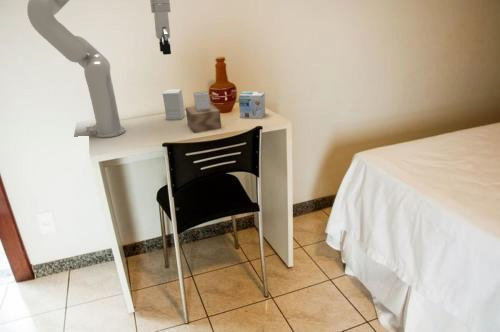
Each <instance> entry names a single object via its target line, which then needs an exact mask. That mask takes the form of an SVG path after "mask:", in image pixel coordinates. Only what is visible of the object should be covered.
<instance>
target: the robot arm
mask: <svg viewBox="0 0 500 332" xmlns="http://www.w3.org/2000/svg"><path fill="white" fill-rule="evenodd" d="M69 1H70V0H28V3H27V7H26V8H27V9H26V10H27V16H28V19H29V22H30V24H31V27H33V28H34V30H35V31H36V32H37V33H38V34H39V35H40V36H41V37H42V38H43V39H45V41H47V42H48V43H49V44H50V45H51V46H52V47H53V48H54V49H56V50H57V51H58V52H59V53H60V54H61V55H62V56H64V57H65V59H67V60H68V61H69V62H71V63H78V64H79V66H81V67H82V68H83V69H84V72H83V73H84V77H85V78H84V79H85V81H86V84H87V89H88V93H89V96H90V101H91V105H92V111H93V114H94V119H95V124H94V125H92V126H91V125H89V126H85V130H86V132H89V133H92V132H94V136H95V137H96V138H102V139H104V138H113V137H117V136H120V135H123V134H124V133H125V132H126V128H125V126H122V125H121V121H120V120H121V119H120V115H119V111H118V105H117V101H116V95H115V90H114V86H113V82H112V76H111V63H110V62H109V60H108V59H107V58H106V57H105V56H104V55H103V54H102V53H101V52H100V51H98V49H97V48H95V47H94V46H93V45H92V44H91V43H90V42H89V41H88V40H87V39H85V38H84V37H82V36H80V35H79V36H78V35H75V34H73V33H72V32H71V31H70V30H69V29H68V28H67V27H65V25H64V24H62V22H59V21H58V20H57V18H56V17H55V15H56V14H59V11H61V10H62V9H63V8H64V7H65V5H67V4H68V2H69ZM149 1H150V9H151V14H154V15H153V16H154V18H153V19H154V27H155V28H154V29H155V37H156V39H158V41H159V42H158V43H159V51H160V53H162V54H163V55H171V54H172V50H171V44H170V43H171V42H170V38H171V32H170V31H171V29H170V21H169V13H171V12H172V11H171V3H170V0H149Z"/></svg>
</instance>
